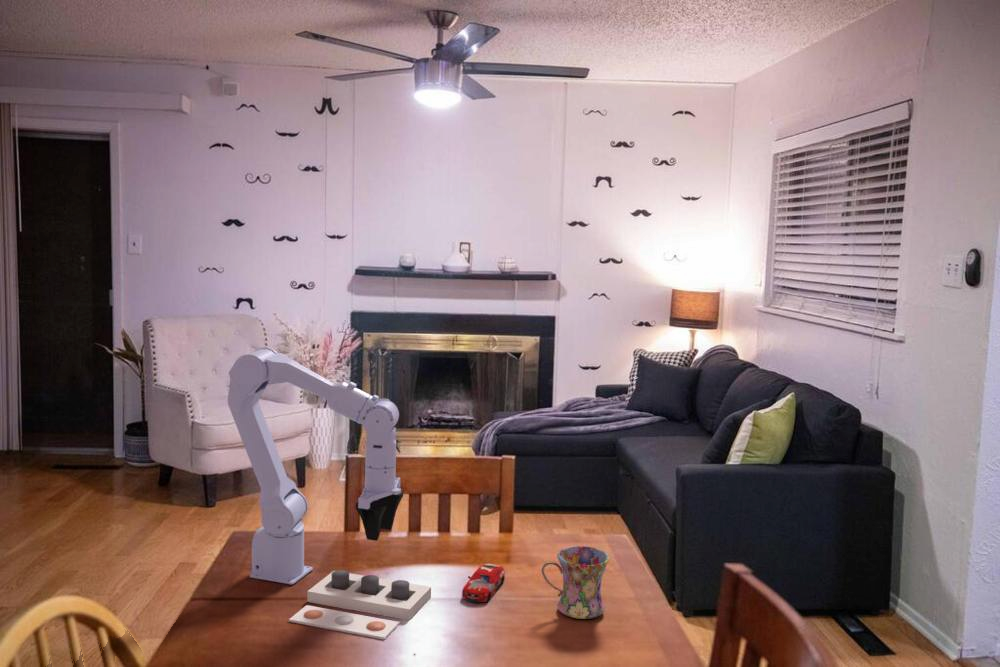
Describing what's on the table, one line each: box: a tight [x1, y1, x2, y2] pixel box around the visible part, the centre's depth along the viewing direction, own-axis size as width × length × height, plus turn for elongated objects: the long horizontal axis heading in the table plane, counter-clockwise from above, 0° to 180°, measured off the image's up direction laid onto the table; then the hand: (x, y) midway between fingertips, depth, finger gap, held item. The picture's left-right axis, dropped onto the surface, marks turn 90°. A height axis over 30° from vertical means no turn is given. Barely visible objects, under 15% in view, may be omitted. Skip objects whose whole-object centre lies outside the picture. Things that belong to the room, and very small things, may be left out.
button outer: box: [391, 579, 410, 601], centre depth 160 cm, size 3×3×2 cm
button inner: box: [331, 569, 350, 591], centre depth 163 cm, size 3×3×2 cm
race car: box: [461, 563, 506, 603], centre depth 168 cm, size 13×5×4 cm, turn 160°
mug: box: [541, 545, 610, 620], centre depth 159 cm, size 12×9×11 cm
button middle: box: [361, 574, 380, 596], centre depth 161 cm, size 3×3×2 cm
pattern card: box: [288, 604, 400, 641], centre depth 152 cm, size 18×6×1 cm, turn 73°
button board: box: [306, 570, 432, 621], centre depth 162 cm, size 20×10×2 cm, turn 73°
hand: (379, 534), depth 169 cm, fingers open, 5 cm apart
